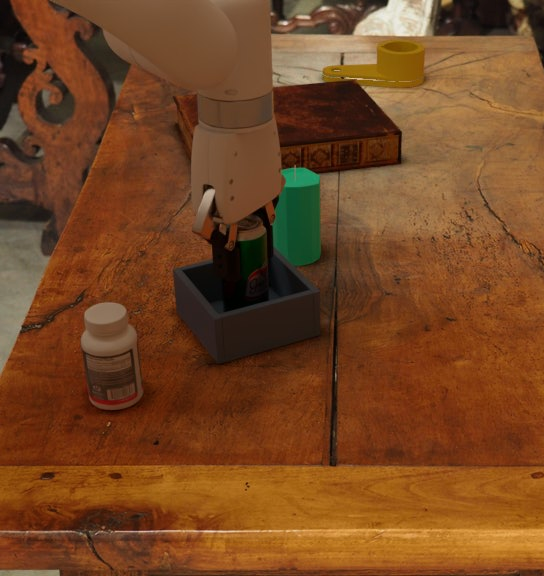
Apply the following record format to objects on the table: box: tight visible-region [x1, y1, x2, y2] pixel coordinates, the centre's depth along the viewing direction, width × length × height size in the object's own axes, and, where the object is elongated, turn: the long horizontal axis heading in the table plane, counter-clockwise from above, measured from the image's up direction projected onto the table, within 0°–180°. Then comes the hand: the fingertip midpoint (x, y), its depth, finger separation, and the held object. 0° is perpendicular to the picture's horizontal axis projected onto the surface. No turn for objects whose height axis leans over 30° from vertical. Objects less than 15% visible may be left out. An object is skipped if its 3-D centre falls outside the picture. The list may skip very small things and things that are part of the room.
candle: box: [271, 165, 322, 267], centre depth 130 cm, size 6×6×12 cm
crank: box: [322, 39, 426, 89], centre depth 190 cm, size 18×8×6 cm, turn 91°
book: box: [172, 80, 403, 174], centre depth 163 cm, size 30×24×5 cm
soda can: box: [219, 214, 269, 313], centre depth 116 cm, size 5×5×12 cm
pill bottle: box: [80, 301, 144, 411], centre depth 104 cm, size 5×5×10 cm
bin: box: [172, 246, 322, 365], centre depth 118 cm, size 12×12×6 cm
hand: (244, 264), depth 115 cm, fingers closed on soda can, 5 cm apart
